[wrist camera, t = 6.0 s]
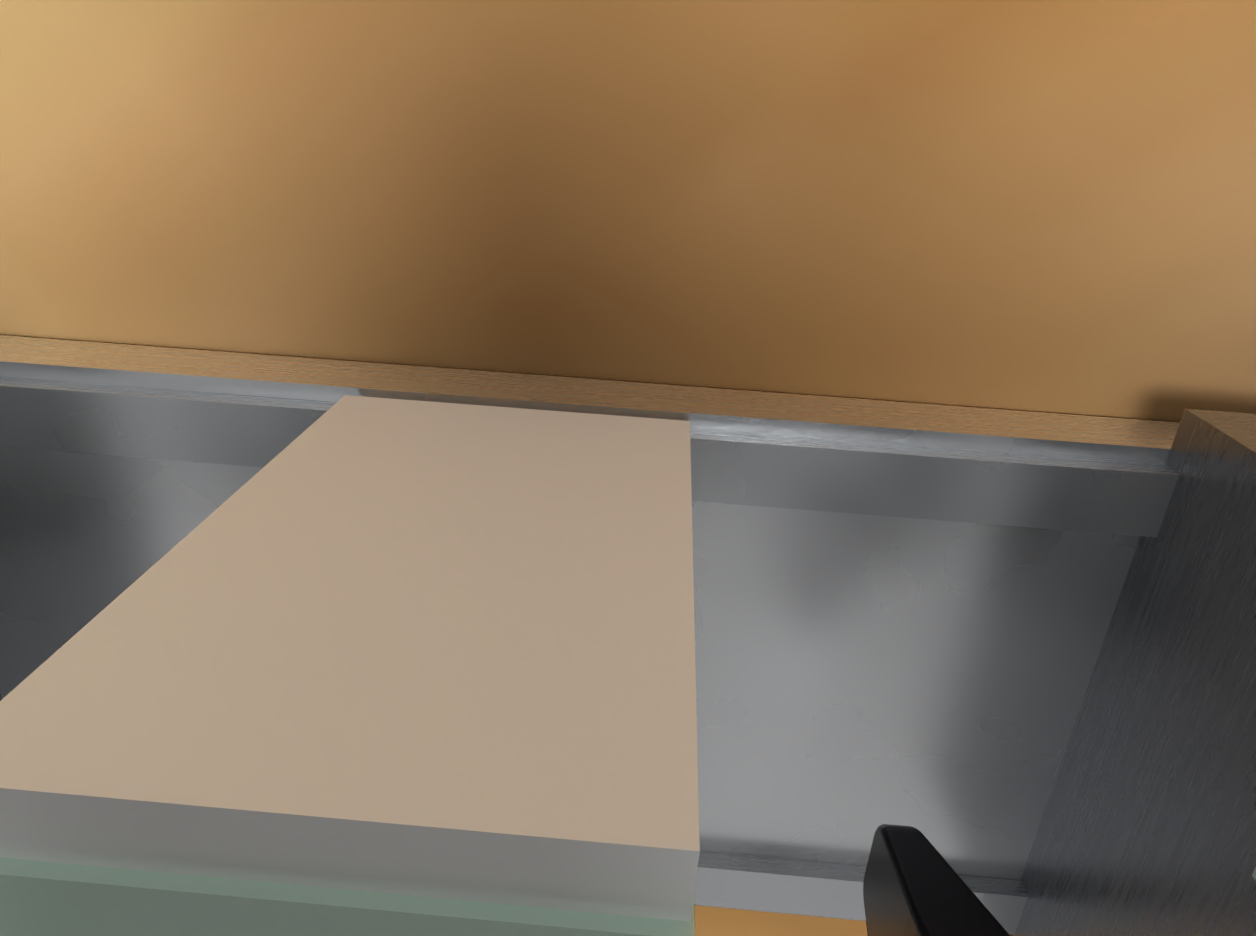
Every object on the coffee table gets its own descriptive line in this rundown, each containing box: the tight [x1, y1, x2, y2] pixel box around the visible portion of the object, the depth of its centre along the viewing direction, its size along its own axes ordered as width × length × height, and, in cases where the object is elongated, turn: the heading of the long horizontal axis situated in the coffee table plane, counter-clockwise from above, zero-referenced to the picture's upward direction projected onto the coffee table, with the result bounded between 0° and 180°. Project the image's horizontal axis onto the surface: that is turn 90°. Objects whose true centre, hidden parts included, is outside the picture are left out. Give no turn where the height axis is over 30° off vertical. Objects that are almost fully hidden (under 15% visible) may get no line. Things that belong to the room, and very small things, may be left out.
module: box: [0, 395, 700, 936], centre depth 9 cm, size 4×8×6 cm, turn 177°
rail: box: [0, 335, 1256, 936], centre depth 10 cm, size 20×9×5 cm, turn 87°
